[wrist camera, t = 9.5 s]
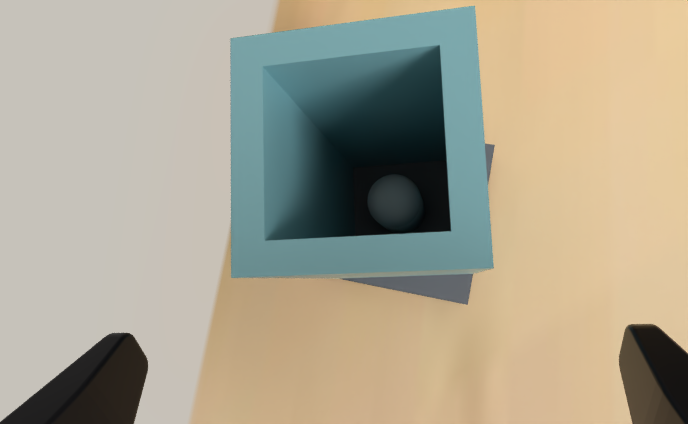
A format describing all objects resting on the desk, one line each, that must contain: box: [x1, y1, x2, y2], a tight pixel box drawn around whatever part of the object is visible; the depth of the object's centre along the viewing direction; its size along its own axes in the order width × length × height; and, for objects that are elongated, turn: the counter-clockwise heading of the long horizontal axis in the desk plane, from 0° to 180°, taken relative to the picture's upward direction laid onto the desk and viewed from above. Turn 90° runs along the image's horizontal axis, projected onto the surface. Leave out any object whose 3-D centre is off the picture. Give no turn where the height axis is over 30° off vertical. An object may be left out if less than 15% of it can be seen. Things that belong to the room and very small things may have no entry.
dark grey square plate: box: [341, 144, 495, 305], centre depth 19 cm, size 6×6×4 cm
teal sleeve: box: [231, 6, 494, 279], centre depth 15 cm, size 5×5×10 cm
